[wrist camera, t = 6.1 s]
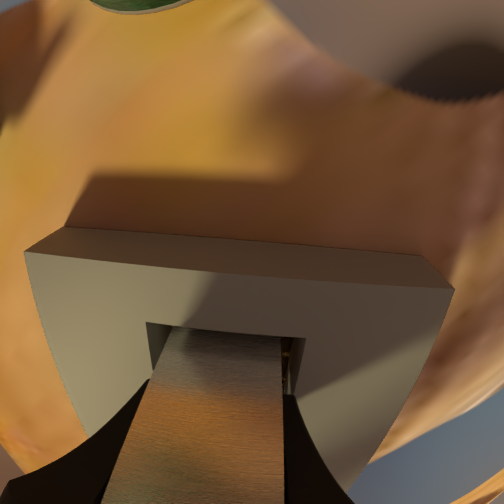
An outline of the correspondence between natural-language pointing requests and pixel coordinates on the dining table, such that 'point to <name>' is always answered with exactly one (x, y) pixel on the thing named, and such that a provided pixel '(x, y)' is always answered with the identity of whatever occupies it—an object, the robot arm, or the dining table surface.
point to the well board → (242, 322)
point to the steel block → (206, 424)
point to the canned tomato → (138, 5)
